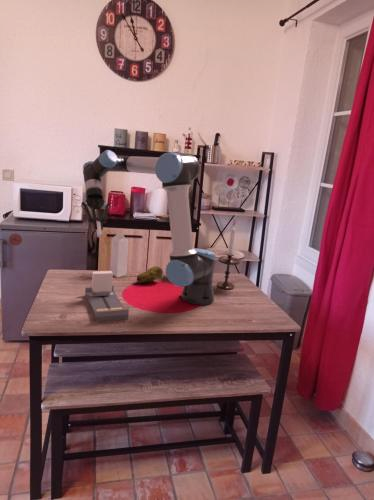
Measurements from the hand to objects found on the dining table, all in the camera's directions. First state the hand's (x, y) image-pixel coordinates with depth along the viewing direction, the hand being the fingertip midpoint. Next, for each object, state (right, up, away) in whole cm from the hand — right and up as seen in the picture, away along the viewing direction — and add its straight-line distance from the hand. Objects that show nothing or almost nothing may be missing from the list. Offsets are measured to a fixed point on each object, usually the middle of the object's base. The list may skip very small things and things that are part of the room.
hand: (99, 235), depth 160 cm
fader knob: (+1, -25, -2) cm, 25 cm away
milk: (+2, -19, +30) cm, 36 cm away
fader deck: (+4, -29, -8) cm, 31 cm away
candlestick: (+58, -25, +30) cm, 69 cm away
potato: (+19, -22, +24) cm, 38 cm away
